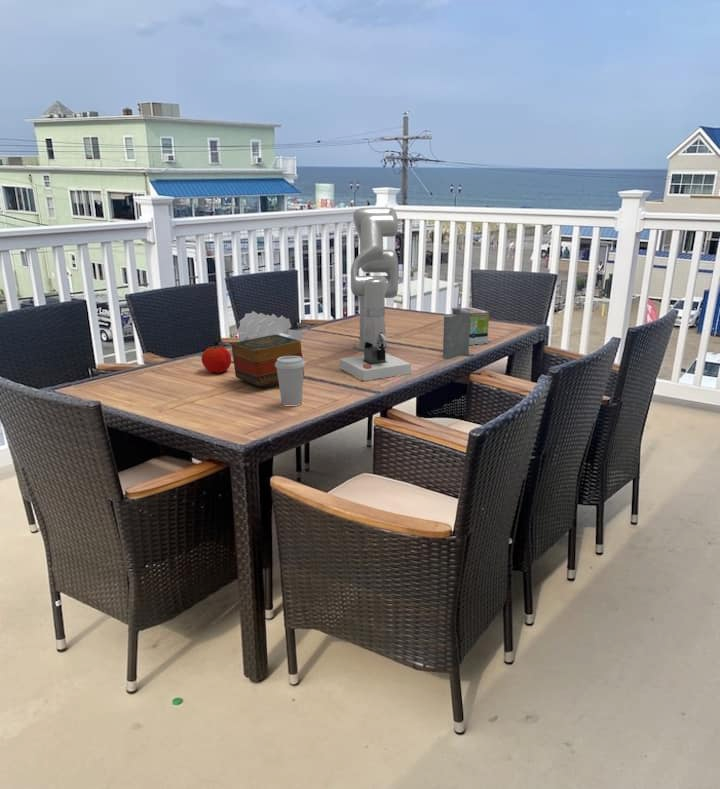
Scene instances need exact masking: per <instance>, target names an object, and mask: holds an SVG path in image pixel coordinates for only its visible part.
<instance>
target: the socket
mask: <svg viewBox="0 0 720 789" xmlns="http://www.w3.org/2000/svg"><path fill="white" fill-rule="evenodd" d="M339 369H340V370H341V369H342V370H341V371H343V370H344V371H343V372H345V371H346V372H345V373H347V372H348V373H347V374H349V373H350V374H352V375H354V376H356V377H358V378H360V379H362V380H370V381H373V380H372V379H377V380H379V379H378V378H383V379H386V378H385V377H389V378H392V377H391V376H396V377H399V376H398V375H402V376H407V375H406V374H409V375H412V363H411V362H410V363H409V362H407V361H405V360H403V359H400V358H398V357H397V356H393V355H391V354H389V353H387V352H385V363H380V364H373V365H370V364H368V363H366V362H364V355H359V356H351V357H344V358H340V359H339ZM350 374H349V375H350ZM352 375H351V376H352ZM354 376H353V377H354ZM356 377H355V378H356ZM358 378H357V379H358ZM360 379H359V380H360ZM362 380H361V381H362Z"/></svg>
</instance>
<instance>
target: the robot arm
mask: <svg viewBox="0 0 720 789" xmlns="http://www.w3.org/2000/svg"><path fill="white" fill-rule="evenodd" d="M352 217H353V218H352V219H353V223H354V228H355V230H356V232H357V234H358V239H359V254H358V255H357V256H356V258H355V259H354V261H353V262H352V265H351V268H350V290H351V293H352V294H353V296H355V297H356V296H357V297H358V304H359V337H358V341H359V343H358V344H356V349H357V350H359V351H363V352H364V348H366V347H374V346H377V348H378V350H377V360H378V361H379V360H385V353H386V350H387V344H388V338H387V337H386V322H385V316H386V315H385V314H386V313H385V311H386V309H385V305H386V304H385V302H386V300H385V299H393V298H395V297H396V296H397V295H398V290H399V258H398V254H397V252H396V251H395V250H393V249H384V238H385V237H387V238H389V237H390V238H392V237H393V238H394V237H395V236H397V234H398V231H399V221H398V216H397V212H396V209H394V208H393V207H361V208H358V209H355V210H354V211H353V216H352ZM359 269H360V270H361V271H362V272H364V273H369V274H371V273H373V274H374V273H379V274H380V273H383V274H384V273H385V274H387V275H358V273H359V271H360V270H359Z"/></svg>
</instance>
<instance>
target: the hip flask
mask: <svg viewBox="0 0 720 789" xmlns="http://www.w3.org/2000/svg"><path fill="white" fill-rule="evenodd" d="M461 308H462V307H452V308H451V313H449V314H447V315H444V317H443V338H442V339H443V343H442V359H443V358H444V359H443V360H450V358H451V359H453V358H455V356H456V357H458V356H457V355H459V356H462V355H466V354H465V353H467V354H469V348H470V345H469V330H470V312H468V311H464V312H462V311H461V312H460V310H461ZM461 354H462V355H461ZM452 357H453V358H452Z"/></svg>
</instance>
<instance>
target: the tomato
mask: <svg viewBox="0 0 720 789" xmlns="http://www.w3.org/2000/svg"><path fill="white" fill-rule="evenodd" d="M201 362H202V365H203V367H204V369H206V370H207V371H208V372H211V373H213V372H214V374H220V372H221V373H223V371H224V372H226V371H227V370H228V369H229V368H230V366H231V364H232V357H231V354H230V352H229V350H228V349H226V348H225V347H224V346H223V345H222V346H221V345H220V346H218V345H213V346H211V345H209V347H208V348H206V349H205V350H204V352H202V355H201Z"/></svg>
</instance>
